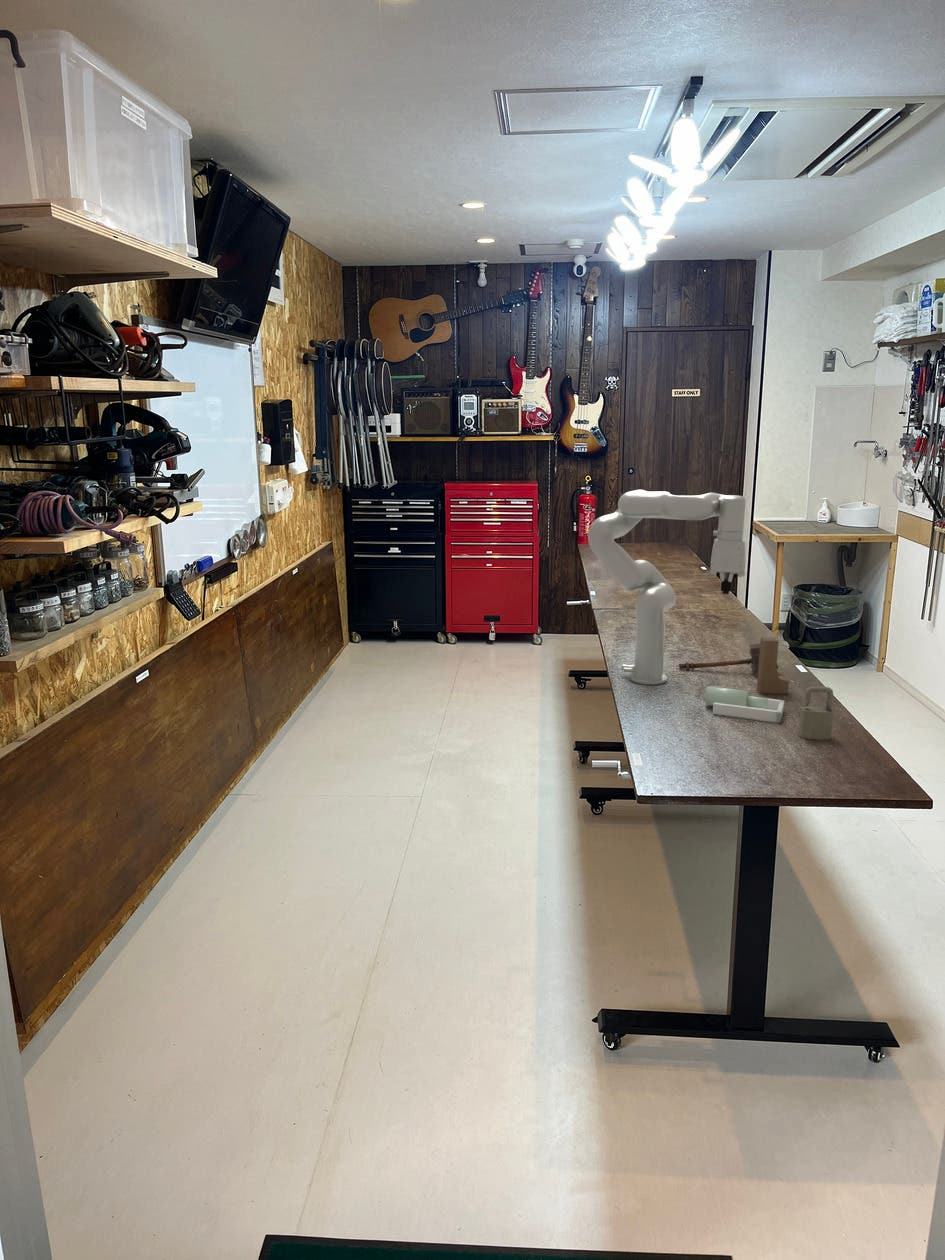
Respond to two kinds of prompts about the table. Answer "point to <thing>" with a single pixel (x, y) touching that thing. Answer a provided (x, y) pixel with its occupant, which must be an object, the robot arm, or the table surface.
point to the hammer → (754, 661)
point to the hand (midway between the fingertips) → (725, 593)
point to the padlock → (816, 716)
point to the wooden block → (770, 669)
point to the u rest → (752, 711)
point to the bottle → (733, 697)
